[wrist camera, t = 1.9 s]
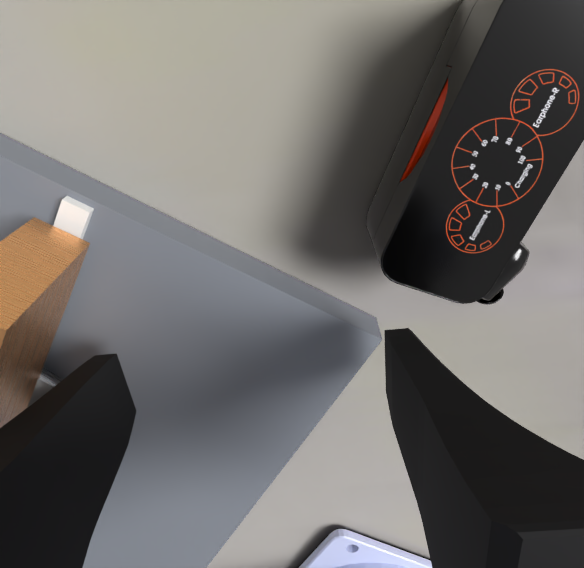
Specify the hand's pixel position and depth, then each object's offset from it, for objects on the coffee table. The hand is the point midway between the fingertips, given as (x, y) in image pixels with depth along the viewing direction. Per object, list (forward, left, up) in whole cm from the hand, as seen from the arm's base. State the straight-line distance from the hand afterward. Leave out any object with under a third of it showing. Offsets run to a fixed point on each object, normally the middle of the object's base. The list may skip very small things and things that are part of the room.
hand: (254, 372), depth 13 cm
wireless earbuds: (-3, -7, -3) cm, 8 cm away
